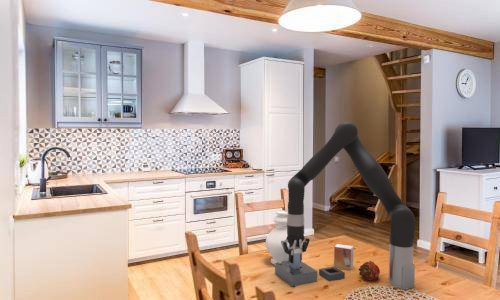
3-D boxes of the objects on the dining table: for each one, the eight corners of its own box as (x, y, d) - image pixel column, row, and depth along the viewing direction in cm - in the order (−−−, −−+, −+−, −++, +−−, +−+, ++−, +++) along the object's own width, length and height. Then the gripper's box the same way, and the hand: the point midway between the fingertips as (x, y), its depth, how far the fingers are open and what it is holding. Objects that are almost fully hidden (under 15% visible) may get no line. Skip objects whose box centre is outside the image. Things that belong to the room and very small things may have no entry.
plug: (300, 270, 160) (300, 248, 159) (293, 271, 159) (294, 249, 158) (296, 268, 163) (296, 246, 162) (290, 269, 162) (290, 247, 161)
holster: (344, 279, 159) (344, 272, 159) (329, 282, 156) (329, 275, 156) (333, 272, 167) (333, 266, 166) (318, 275, 163) (318, 268, 163)
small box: (333, 268, 172) (333, 246, 171) (336, 264, 177) (336, 243, 176) (350, 271, 168) (351, 249, 168) (353, 267, 173) (353, 245, 173)
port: (317, 282, 156) (317, 269, 156) (292, 287, 151) (292, 274, 151) (297, 269, 170) (297, 258, 170) (274, 273, 166) (275, 261, 165)
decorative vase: (308, 265, 176) (308, 214, 175) (275, 270, 170) (275, 217, 168) (290, 253, 193) (291, 207, 191) (259, 258, 186) (259, 209, 185)
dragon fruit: (367, 288, 153) (367, 281, 165) (384, 278, 152) (383, 272, 163) (355, 270, 155) (356, 265, 167) (372, 260, 154) (371, 255, 165)
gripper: (285, 227, 153) (285, 267, 154) (314, 223, 159) (313, 262, 160) (277, 223, 160) (277, 261, 161) (304, 220, 166) (304, 257, 167)
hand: (295, 261), depth 160 cm, fingers closed on plug, 3 cm apart
